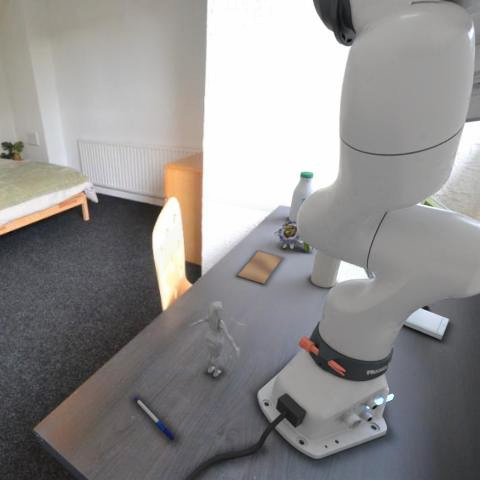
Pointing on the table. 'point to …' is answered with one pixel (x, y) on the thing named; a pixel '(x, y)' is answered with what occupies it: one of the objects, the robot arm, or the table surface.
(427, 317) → the hard drive
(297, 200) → the milk bottle
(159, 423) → the ballpoint pen
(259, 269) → the tan flat rectangular board
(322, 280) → the bottle
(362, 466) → the table surface
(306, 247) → the passion flower
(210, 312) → the human figurine
